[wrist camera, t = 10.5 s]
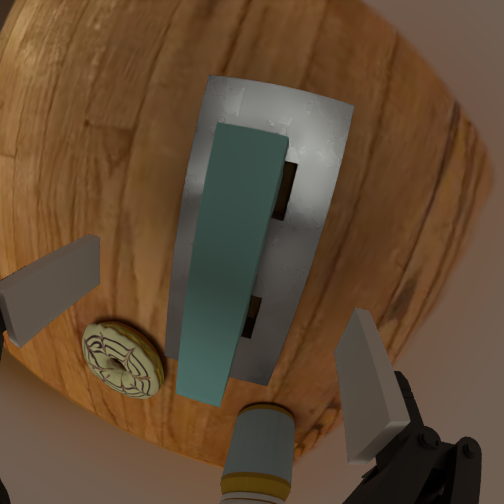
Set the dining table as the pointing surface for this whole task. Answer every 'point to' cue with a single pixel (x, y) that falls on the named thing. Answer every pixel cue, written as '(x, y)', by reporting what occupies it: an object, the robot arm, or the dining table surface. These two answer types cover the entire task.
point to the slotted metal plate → (281, 224)
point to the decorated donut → (123, 359)
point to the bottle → (259, 457)
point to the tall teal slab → (227, 254)
